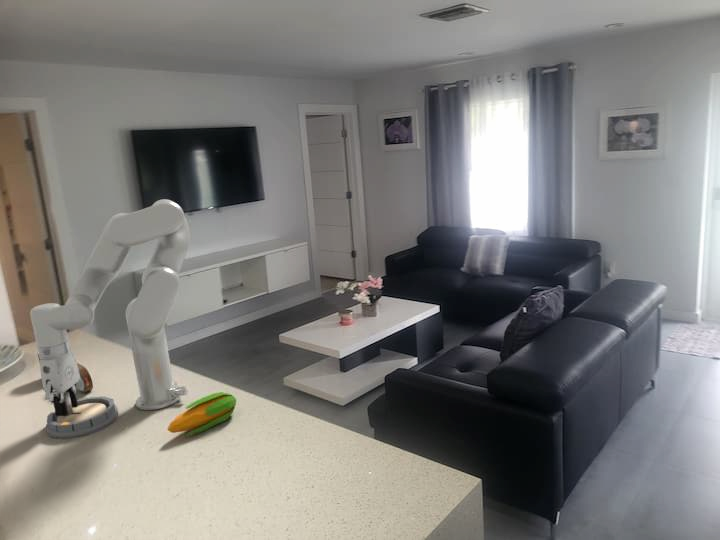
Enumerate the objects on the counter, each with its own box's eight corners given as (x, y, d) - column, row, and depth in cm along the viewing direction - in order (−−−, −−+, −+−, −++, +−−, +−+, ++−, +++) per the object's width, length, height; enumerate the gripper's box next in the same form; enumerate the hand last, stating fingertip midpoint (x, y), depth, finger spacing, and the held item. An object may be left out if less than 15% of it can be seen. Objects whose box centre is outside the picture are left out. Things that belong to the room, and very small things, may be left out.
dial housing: (129, 405, 161) (127, 393, 161) (98, 437, 144) (95, 424, 143) (70, 408, 163) (68, 396, 162) (32, 440, 145) (29, 427, 144)
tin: (95, 392, 173) (90, 367, 171) (85, 396, 171) (80, 370, 169) (75, 381, 183) (70, 358, 181) (65, 385, 180) (60, 361, 179)
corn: (240, 388, 148) (173, 418, 134) (245, 414, 150) (178, 447, 135) (225, 383, 153) (158, 412, 139) (229, 409, 155) (164, 440, 141)
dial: (114, 405, 159) (110, 382, 157) (92, 426, 146) (87, 402, 145) (73, 407, 159) (68, 384, 158) (47, 428, 147) (42, 404, 146)
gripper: (48, 360, 140) (63, 425, 144) (84, 337, 157) (96, 397, 161) (20, 361, 141) (35, 427, 145) (58, 339, 157) (71, 398, 161)
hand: (67, 410), depth 153 cm, fingers open, 4 cm apart
